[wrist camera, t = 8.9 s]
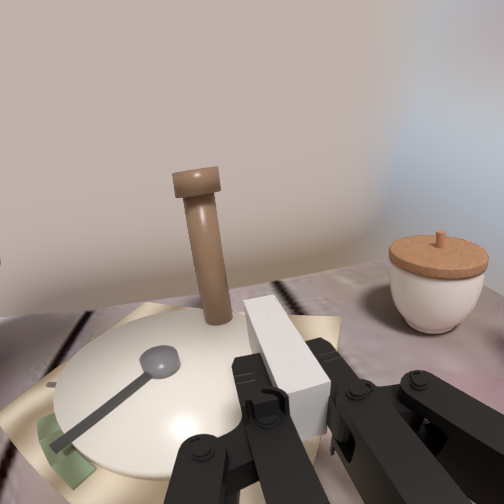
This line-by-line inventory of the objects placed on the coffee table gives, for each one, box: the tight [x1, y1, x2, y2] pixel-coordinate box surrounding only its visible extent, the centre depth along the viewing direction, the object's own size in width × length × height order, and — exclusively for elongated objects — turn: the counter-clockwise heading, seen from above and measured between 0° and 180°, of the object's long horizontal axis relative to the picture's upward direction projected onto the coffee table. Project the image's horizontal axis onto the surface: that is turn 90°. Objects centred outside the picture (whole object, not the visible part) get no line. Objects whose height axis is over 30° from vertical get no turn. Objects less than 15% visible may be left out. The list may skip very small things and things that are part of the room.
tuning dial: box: [49, 167, 252, 481], centre depth 17 cm, size 21×19×15 cm
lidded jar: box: [389, 231, 489, 334], centre depth 24 cm, size 11×11×9 cm
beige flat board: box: [0, 302, 341, 504], centre depth 19 cm, size 24×25×2 cm
